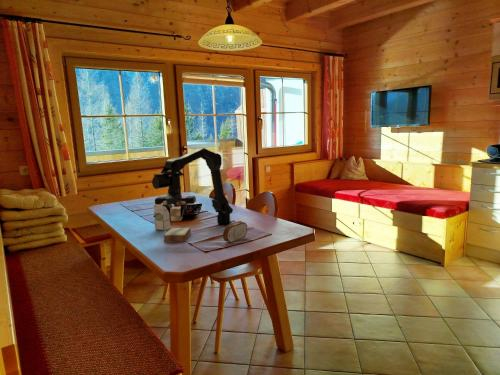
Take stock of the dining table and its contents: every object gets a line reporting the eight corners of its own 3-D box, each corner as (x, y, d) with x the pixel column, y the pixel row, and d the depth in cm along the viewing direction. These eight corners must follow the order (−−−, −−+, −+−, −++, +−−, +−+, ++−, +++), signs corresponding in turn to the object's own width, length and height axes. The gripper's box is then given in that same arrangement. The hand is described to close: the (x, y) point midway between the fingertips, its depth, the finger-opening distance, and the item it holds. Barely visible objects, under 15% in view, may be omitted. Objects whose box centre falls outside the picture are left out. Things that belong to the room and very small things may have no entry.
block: (182, 218, 168) (181, 206, 167) (180, 221, 164) (179, 208, 163) (173, 218, 168) (172, 206, 167) (171, 221, 164) (170, 209, 163)
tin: (243, 235, 169) (243, 218, 167) (248, 236, 167) (248, 219, 165) (222, 243, 158) (221, 226, 156) (227, 245, 156) (227, 227, 154)
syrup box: (170, 227, 185) (168, 201, 182) (164, 230, 179) (162, 203, 177) (161, 226, 187) (159, 201, 184) (155, 230, 181) (153, 203, 179)
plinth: (190, 233, 173) (190, 227, 173) (185, 241, 162) (184, 235, 161) (171, 234, 174) (170, 227, 173) (164, 241, 162) (163, 235, 162)
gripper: (149, 189, 156) (152, 222, 159) (190, 188, 155) (192, 221, 158) (157, 185, 167) (159, 216, 170) (195, 184, 166) (197, 215, 168)
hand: (176, 217), depth 166 cm, fingers closed on block, 4 cm apart
